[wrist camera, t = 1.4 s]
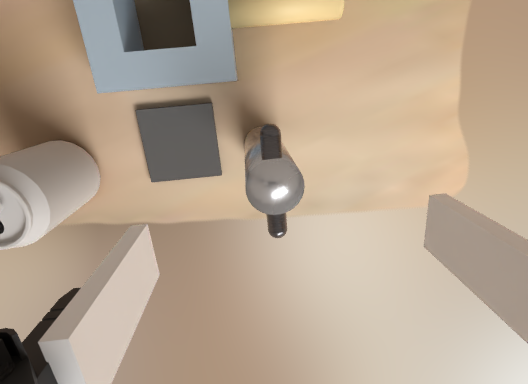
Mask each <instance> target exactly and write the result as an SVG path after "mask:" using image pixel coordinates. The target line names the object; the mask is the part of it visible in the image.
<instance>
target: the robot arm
mask: <svg viewBox="0 0 528 384" xmlns="http://www.w3.org/2000/svg"><path fill="white" fill-rule="evenodd" d="M424 247H425V248H426V249H427V250H428V251H429V252H430V253H431V254H432V255H433V256H434V257H435V258H436V259H438V260H439V261H440V262H441V263H442V264H443V265H444V266H445V267H446V268H447V269H448V270H449V271H450V272H452V273H453V274H454V275H455V276H456V277H457V278H458V279H459V280H460V281H461V282H462V283H463V284H464V285H465V286H467V287H468V288H469V289H470V290H471V291H472V292H473V293H474V294H475V295H476V296H477V297H478V298H479V299H481V300H482V301H483V302H484V303H485V304H486V305H487V306H488V307H489V308H490V309H491V310H492V311H493V312H494V313H496V314H497V315H498V316H499V317H500V318H501V319H502V320H503V321H504V322H505V323H506V324H507V325H509V326H510V327H511V328H512V329H513V330H514V331H515V332H516V333H517V334H518V335H519V336H520V337H521V338H522V339H523V340H525V341H526V342H527V343H528V240H527V239H525V238H523V237H521V236H520V235H518V234H516V233H514V232H513V231H511V230H509V229H507V228H506V227H504V226H502V225H500V224H499V223H497V222H495V221H493V220H491V219H490V218H488V217H486V216H484V215H483V214H481V213H479V212H477V211H475V210H474V209H472V208H470V207H468V206H467V205H465V204H463V203H461V202H459V201H458V200H456V199H454V198H452V197H451V196H449V195H447V194H436V195H429V203H428V212H427V222H426V231H425V240H424ZM159 275H160V274H159V270H158V266H157V262H156V257H155V253H154V249H153V245H152V241H151V237H150V233H149V229H148V224H142V225H133V226H130V227H129V228H128V230H127V231H126V232H125V233H124V235H123V236H122V237H121V238H120V240H119V241H118V242H117V243H116V245H115V246H114V247H113V248H112V250H111V251H110V252H109V254H108V255H107V256H106V257H105V258H104V260H103V261H102V262H101V264H100V265H99V266H98V267H97V269H96V270H95V271H94V272H93V274H92V275H91V276H90V277H89V279H88V280H87V281H86V282H85V284H84V285H83V286H82V287H81V288H74V289H72V290H71V291H69V292H68V293H67V294H65V295H64V296H63V297H61V298H60V299H59V300H58V301H57V302H56V304H55V305H54V306H53V307H52V308H51V310H50V312H48V313H47V314H46V315H45V316H44V318H43V319H42V321H41V322H39V324H38V325H37V326H36V327H35V328H34V329H33V331H32V332H31V333H30V334H29V335H28V337H26V339H25V340H24V341H23V342H22V343H21V341H20V339H19V337H18V334H17V333H16V332H15V330H14V329H8V328H5V329H0V384H111V383H112V381H113V379H114V377H115V374H116V372H117V370H118V368H119V365H120V363H121V361H122V359H123V356H124V354H125V352H126V350H127V347H128V345H129V343H130V340H131V338H132V336H133V334H134V331H135V329H136V327H137V325H138V322H139V320H140V318H141V316H142V313H143V311H144V309H145V307H146V304H147V302H148V300H149V298H150V295H151V293H152V291H153V288H154V286H155V284H156V282H157V279H158V277H159Z"/></svg>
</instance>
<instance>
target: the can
mask: <svg viewBox="0 0 528 384" xmlns="http://www.w3.org/2000/svg"><path fill="white" fill-rule="evenodd" d="M99 186H100V173H99V169H98V166H97V164H96V163H95V161H94V159H93V158H92V157H91V156H90V155H89V154H88V153H87V152H86V151H85V150H84V149H83V148H81V147H79V146H77V145H75V144H73V143H70V142H66V141H62V140H59V141H48V142H45V143H42V144H39V145H35V146H32V147H29V148H26V149H23V150H19V151H16V152H13V153H10V154H7V155H3V156H0V249H1V250H2V249H9V248H12V247H24V246H26V245H29V244H32V243H34V242H36V241H37V240H39V239H40V238H41V237H43V236H44V235H45V234H46V233H48V232H49V231H50V230H52V229H53V228H54V227H56V226H57V225H58V224H59V223H61V222H62V221H63V220H65V219H66V218H67V217H68V216H70V215H71V214H72V213H74V212H75V211H76V210H77V209H79V208H80V207H81V206H83V205H84V204H85V203H87V202H88V201H89V200H90V199H91V198H92V197H93V196H95V194H96V193H97V191H98V189H99Z"/></svg>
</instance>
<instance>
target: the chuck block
mask: <svg viewBox="0 0 528 384" xmlns="http://www.w3.org/2000/svg"><path fill="white" fill-rule="evenodd" d="M73 2H74V6H75V10H76V14H77V17H78V21H79V25H80V29H81V33H82V36H83V40H84V44H85V48H86V52H87V56H88V59H89V63H90V67H91V71H92V75H93V78H94V82H95V86H96V90H97V93H107V92H119V91H130V90H141V89H152V88H163V87H174V86H185V85H196V84H207V83H218V82H229V81H238V79H237V70H236V61H235V51H234V42H233V33H232V29H233V28H245V27H256V26H268V25H279V24H291V23H302V22H314V21H326V20H337V19H340V18H341V16H342V13H343V9H344V0H190V6H191V13H192V19H193V26H194V33H195V40H196V46H190V47H178V48H167V49H155V50H144V46H143V41H142V36H141V31H140V26H139V21H138V16H137V11H136V6H135V1H134V0H73Z"/></svg>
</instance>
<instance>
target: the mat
mask: <svg viewBox="0 0 528 384" xmlns="http://www.w3.org/2000/svg"><path fill="white" fill-rule="evenodd" d="M135 111H136V115H137V120H138V124H139V129H140V133H141V138H142V142H143V147H144V151H145V155H146V160H147V164H148V169H149V173H150V178H151V182H160V181H170V180H180V179H190V178H200V177H210V176H220V175H222V171H221V164H220V157H219V149H218V142H217V135H216V128H215V121H214V113H213V106H212V103H206V104H195V105H184V106H173V107H163V108H152V109H141V110H135Z"/></svg>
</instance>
